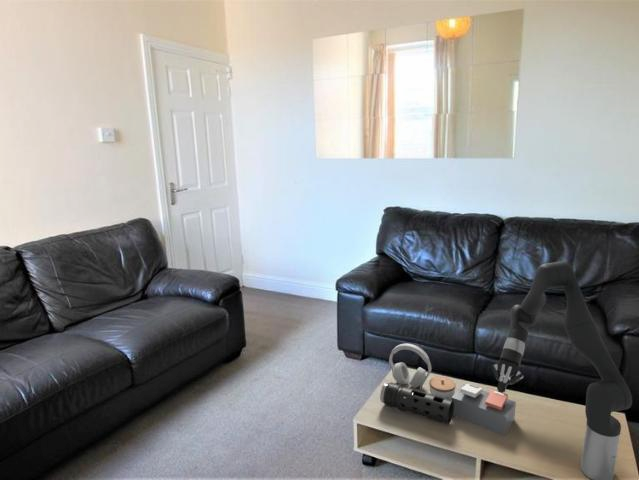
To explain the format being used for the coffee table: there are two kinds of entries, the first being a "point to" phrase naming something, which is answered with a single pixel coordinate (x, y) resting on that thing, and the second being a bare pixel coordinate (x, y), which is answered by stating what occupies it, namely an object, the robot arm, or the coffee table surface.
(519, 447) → the coffee table surface
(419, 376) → the headphones
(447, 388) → the lidded jar
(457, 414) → the switch box
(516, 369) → the robot arm
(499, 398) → the labelled salmon box
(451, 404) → the muzzle brake
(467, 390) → the white block
